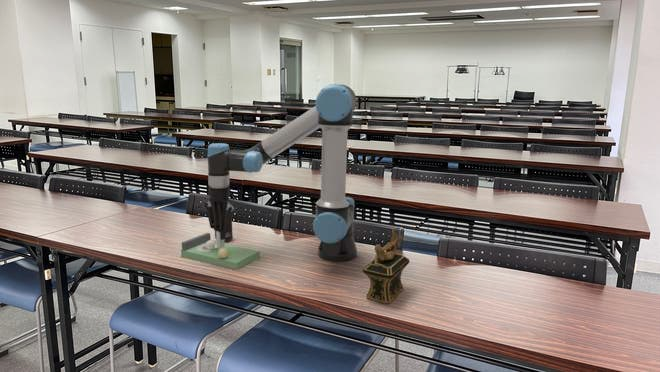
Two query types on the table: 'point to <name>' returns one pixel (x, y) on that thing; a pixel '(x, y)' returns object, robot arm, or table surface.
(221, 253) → the yellow ball
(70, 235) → the table surface
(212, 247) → the ball
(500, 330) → the table surface
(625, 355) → the table surface
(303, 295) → the table surface
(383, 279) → the decorative box
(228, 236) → the supplement bottle
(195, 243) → the green
